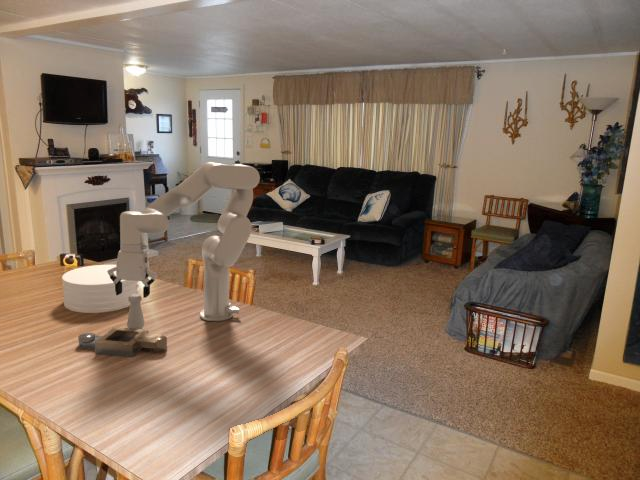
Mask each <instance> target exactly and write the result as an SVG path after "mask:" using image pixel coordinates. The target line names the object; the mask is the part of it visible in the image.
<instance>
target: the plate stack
mask: <svg viewBox="0 0 640 480" xmlns="http://www.w3.org/2000/svg"><path fill="white" fill-rule="evenodd" d="M116 265H117V264H95V265H88V266H82V267H78V268H74V269H71V270H68V271H67V272H65V273H64V274H63V275H62V276H61V281H62V294H63V306H64V308H66V309H67V310H69V311H71V312H77V313H84V314H87V313H88V314H89V313H90V314H95V313H98V314H99V313H106V312H107V313H108V312H115V311H119V310H122V309H123V310H124V309H125V308H129V307H130V302H129V300H128V298H129V296H130V295H132V294H140V290H139V286H140V285H139V281H132V280H121V282H122V293H121V294H119V295H116V292H115V284H114V283H113V281H112V280H111V279H110V276H109V274H108V272H107V271H108V270H110V269H112V268H114V267H116ZM114 275H115V276H116V271H114ZM116 277H117V276H116Z"/></svg>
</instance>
